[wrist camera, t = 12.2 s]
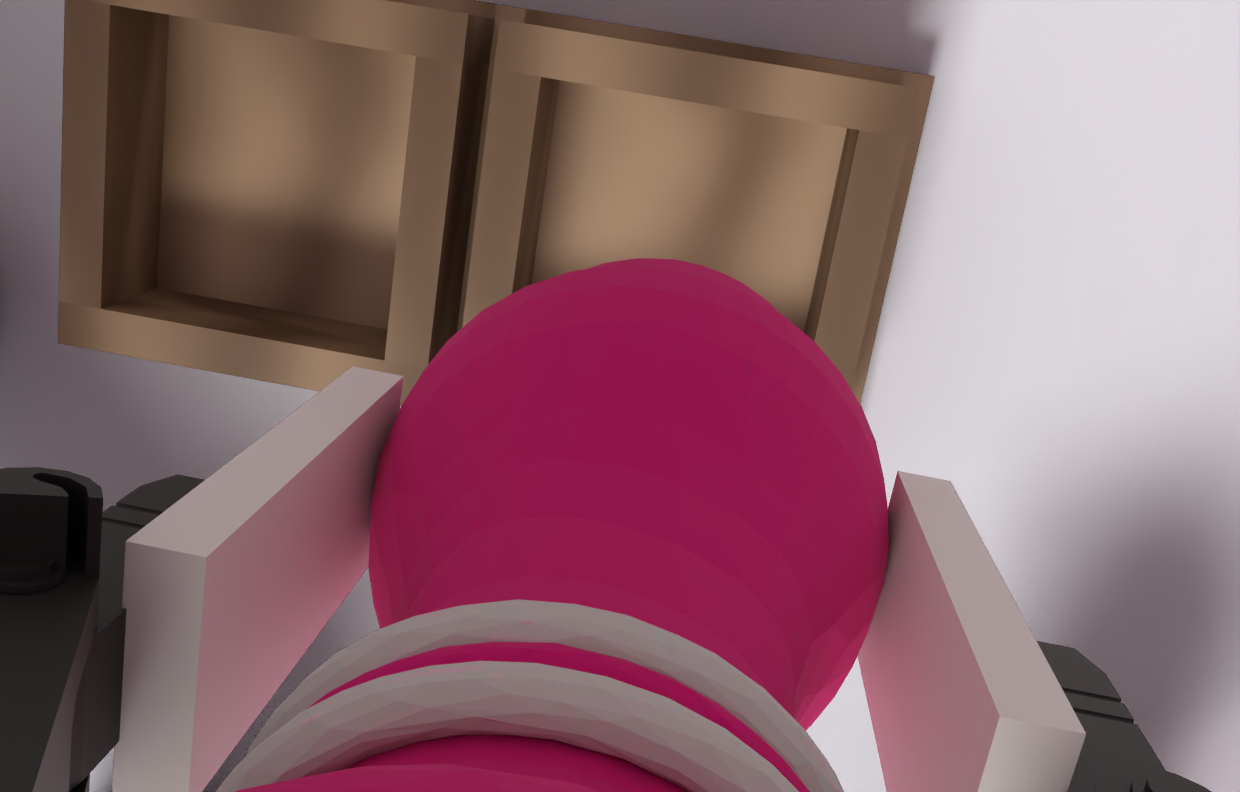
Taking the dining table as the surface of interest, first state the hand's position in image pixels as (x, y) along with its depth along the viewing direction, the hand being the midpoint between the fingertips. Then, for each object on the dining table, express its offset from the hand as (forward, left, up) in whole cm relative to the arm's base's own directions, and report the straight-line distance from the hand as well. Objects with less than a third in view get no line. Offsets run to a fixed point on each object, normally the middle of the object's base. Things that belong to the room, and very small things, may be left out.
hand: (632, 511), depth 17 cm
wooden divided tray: (-5, +5, -27) cm, 28 cm away
